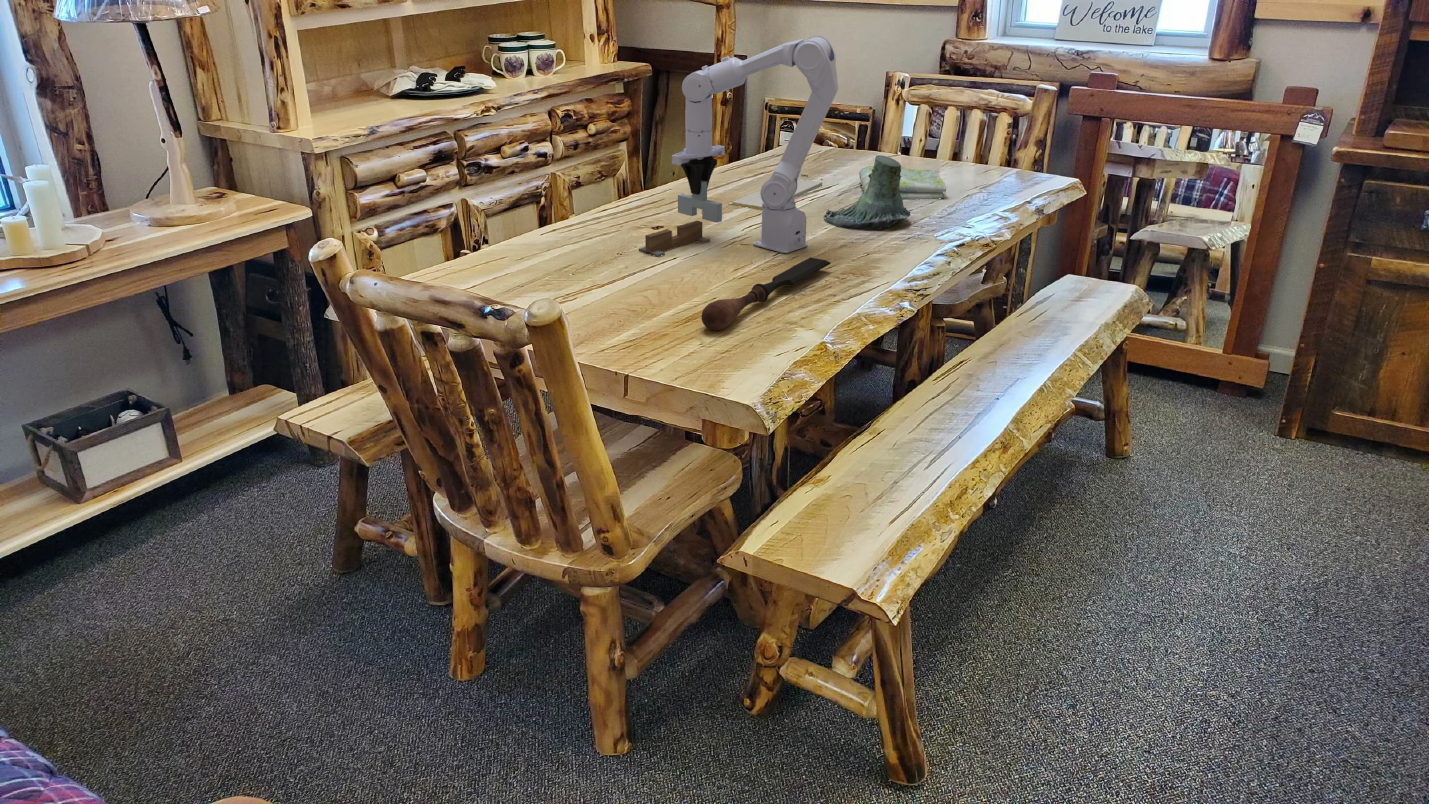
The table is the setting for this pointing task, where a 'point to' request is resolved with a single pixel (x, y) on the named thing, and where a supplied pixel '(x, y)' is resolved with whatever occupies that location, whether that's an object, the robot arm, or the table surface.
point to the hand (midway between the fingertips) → (698, 192)
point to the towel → (913, 183)
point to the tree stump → (875, 200)
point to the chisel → (757, 294)
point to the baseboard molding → (756, 201)
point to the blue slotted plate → (700, 205)
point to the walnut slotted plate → (673, 238)
